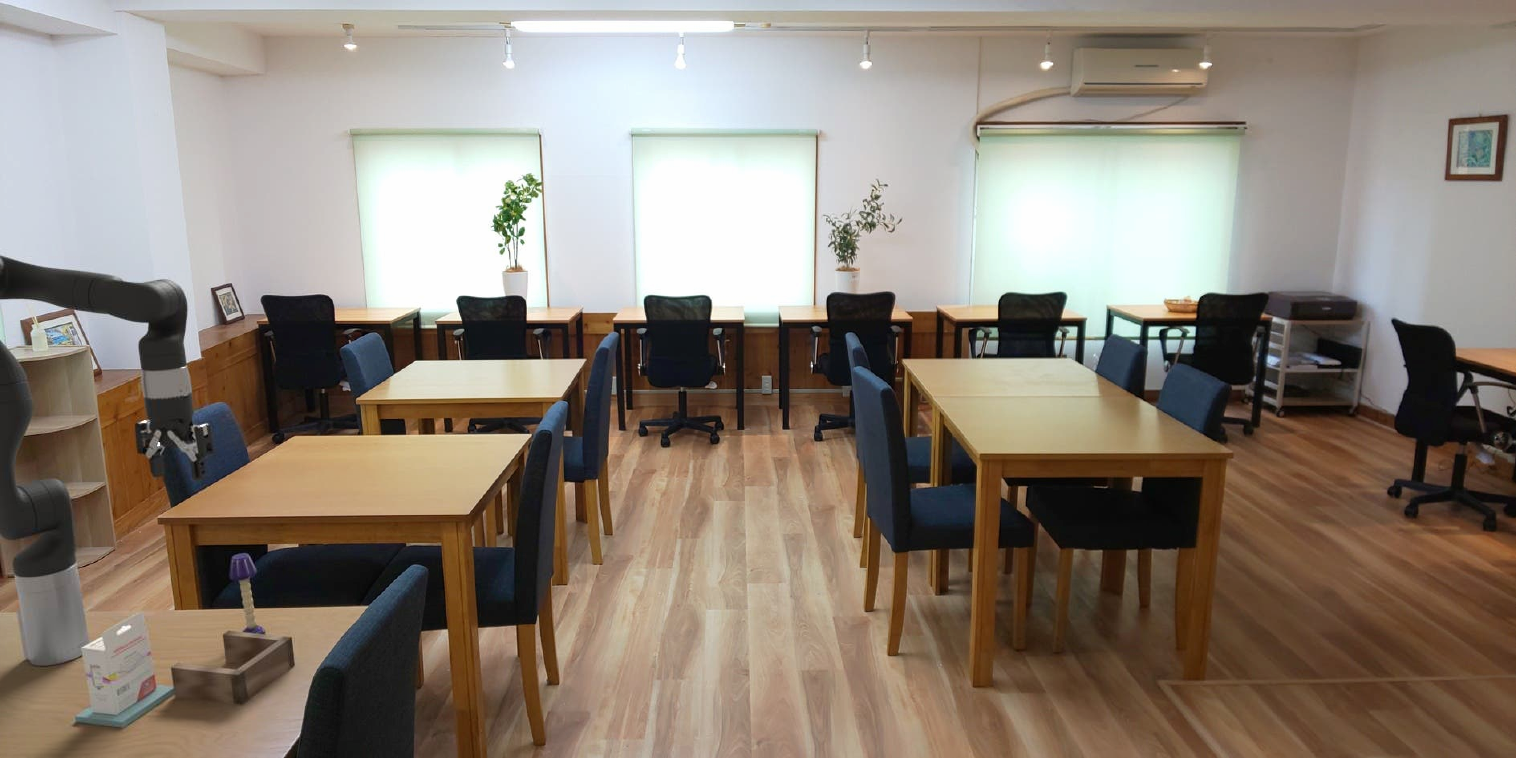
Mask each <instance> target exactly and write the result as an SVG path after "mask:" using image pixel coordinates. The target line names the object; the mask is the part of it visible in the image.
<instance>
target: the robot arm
mask: <svg viewBox="0 0 1516 758" xmlns="http://www.w3.org/2000/svg"><path fill="white" fill-rule="evenodd" d="M0 300H27V301H29V300H32V301H38V302H43V303H47V304H50V305H54V306H55V307H60V308H64V309H68V310H73V311H78V312H79V311H80V312H86V313H94V314H102V315H109V316H112V317H115V318H118V319H121V320H124V321H128V322H133V323H139V324H140V323H143V324H147V325H148V327H147V332H146V333H145V335H143V336H142V337H141V338H140V339H139V340H138V345H137V346H138V355H139V361H140V362H139V363H140V368H141V369H140V370H141V376H140V377H141V380H140V381H141V388H142V395H143V403H144V411H145V416H146V419H145V420H141V421H138V422H136V423H134V432H135V442H136V453H137V454H138V455H144V456H146V458H147V459H148V462H149V463H148V464H149V468H150V469H149V471H150V473H151V476H152V478H157V479H159V478H160V477H162V476H165V475H166V469H165V468H166V467H165V462H164V455H162V453H163V452H164V450H165V448H168V447H172V448H175V449H178V448H179V450H180V451H181V452H182V453H186V455H187V457H188V458H189V459H190V460H191V461H190V470H191V477H192V480H193V481H201V480H203V479H205V477H206V476H207V469H206V461H205V460H206V458H208V457H210V456H213V455H214V454H215V447H214V442H213V436H212V431H211V425H210V424H209V423H207V422H206V423H202V424H195V423H194V421H193V416H194V414H195V405H194V399H193V398H194V397H193V391H192V390H193V389H192V381H191V375H190V371H189V369H188V365H187V364H188V363H187V356H186V349H185V336H186V335H185V334H186V330H187V320H188V311H189V310H188V309H189V308H188V306H189V305H188V299H187V297H186V294H185V291H184V289H183V288H182V287H181V286H180V285H179V284H178V283H176V282H175V281H174V280H170V279H166V278H165V279H164V278H161V279H156V280H155V279H154V280H151V281H145V282H136V281H135V282H133V281H126V280H124V279H122V278H120V277H118V276H117V275H116V276H115V275H112V274H108V273H107V274H106V273H100V272H91V271H86V270H85V271H84V270H75V269H66V268H65V269H63V268H57V267H46V266H42V265H36V264H32V263H27V262H24V261H20V260H18V259H14V258H10V257H8V256H7V257H6V256H4V255H1V254H0ZM34 408H35V405H34V399H33V395H32V392H31V388H30V384H29V381H28V377H27V374H26V372H25V369H24V368H23V366H22V365H21V363H20V362H19V360H18V359H17V358H16V357H15V355H14V353H13V352H11V351H10V349H9V348H8V347H7V346H6V345H5V343H4V342H3V341H2V340H1V339H0V536H1V537H2V538H3V539H4V540H7V541H17V540H21V539H24V538H28V537H31V536H35V535H39V536H38V537H37V539H35V540H34V541H33V542H32V544H30V545H29V546H28V547H26V548H25V549H23V550H21V551H20V552H18V553H17V554H16V555H15V556H14V557H13V559H12V562H11V563H12V570H13V575H14V581H15V585H16V586H15V587H16V592H17V597H18V603H19V608H20V609H18V610H17V611H16V616H17V620H18V621H17V623H18V628H19V632H20V633H19V634H20V639H21V644H22V651H23V656H24V660H27V661H29V663H30V664H32V665H35V666H42V667H43V666H51V665H59V664H63V663H66V662H70V661H71V660H74V659H77V658H79V657H81V656H82V650H81V648H82V647H84V646H86V645H87V644H89V643H90V638H89V631H88V625H87V619H86V613H85V612H86V611H85V607H84V601H83V595H82V588H81V582H80V576H79V570H78V564H77V557H76V551H77V542H76V534H75V525H74V511H73V504H72V499H71V495H70V493H69V491H68V488H67V486H65V484H64V482H63V481H61V480H59V479H57V478H54V477H53V478H50V477H49V478H45V479H40V480H36V481H32V482H28V483H23V484H21V485H17V482H16V471H15V468H16V467H15V466H16V458H17V455H18V451H19V448H20V446H21V444H22V441H23V439H24V436H25V434H26V433H27V431H28V428H29V426H30V423H31V421H32V419H33V415H34V410H35V409H34Z"/></svg>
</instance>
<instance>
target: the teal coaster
mask: <svg viewBox="0 0 1516 758" xmlns="http://www.w3.org/2000/svg"><path fill="white" fill-rule="evenodd" d="M173 695H175V693H174V686H170V685H169V686H168V685H160V684H156V689H155V690H154V691H153V692H151V693H150V694H148V695H147V696H145V697H143V698H142V699H140V700H139V701H137V702H136V703H134V704H133V705H131V706H130V707H128V708H127V709H125V710H124V711H122V712H121V713H119V714H117V715H112V714H103V713H94V712H93V711H92V705H91V706H90V707H88V708H86V709H84V710H82V711H81V712H79V713H78V714H76V715H75V716H74V717H75V722H76V723H84V724H92V725H98V726H106V727H107V726H108V727H113V728H122V729H123V728H125V727H127V726H128V725H129V724H131V723H133V722H134V721H135V720H137V719H138V718H140V717H141V716H143V715H144V714H146V713H148V712H149V711H151V710H152V709H153V708H155V707H157V706H158V705H159V704H161V703H163V702H164V701H165V700H167V699H168V698H170V697H171V696H173Z"/></svg>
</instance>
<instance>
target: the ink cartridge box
mask: <svg viewBox="0 0 1516 758" xmlns="http://www.w3.org/2000/svg"><path fill="white" fill-rule="evenodd" d="M149 637H150V636H149V631H148V627H147V626H146V621H145V616H144V613H143V612H142V611H138V612H137V613H135V614H134V615H131V616H129V617H128V618H127V617H126V619H123V620H121V621H120V622H118V623H116V624H114V625H113V626H111V627H109V628H107V629H105V630H103V631H102V632H101V636H100V637H99V638H97V639H94V640H93V641H91V642H89V644H87V645H86V646H84V647H82V648H81V650H82V655H81V656H82V661H83V666H84V672H85V677H86V681H87V688H88V694H89V698H90V704H91V706H92V711H93V712H94V713H103V714H112V715H117V714H119V713H121V712H122V711H124V710H125V709H127V708H128V707H130V706H131V705H133V704H134V703H136V702H137V701H139V700H140V699H142V698H143V697H145V696H147V695H148V694H150V693H151V692H153V691H154V690H155V689H156V685H157V682H156V675H155V670H154V669H155V668H154V662H153V658H152V651H151V643H150V640H149V639H150V638H149Z"/></svg>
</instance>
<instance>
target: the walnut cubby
mask: <svg viewBox="0 0 1516 758" xmlns="http://www.w3.org/2000/svg"><path fill="white" fill-rule="evenodd" d="M222 639H223V646H224V648H223V649H224V655H225V657H224V658H225V663H230V664H231V663H232V664H239V665H241V666H239V667H238V668H237V669H234V668H224V667H215V666H206V665H199V664H198V665H197V664H187V663H179V662H177V663H175V664H174V665H172V666H171V667H170V670H171V677H172V678H171V679H172V684H173V686H172V687H174V697H175V698H181V699H189V700H198V701H206V702H213V703H223V704H233V705H238V706H239V705H240V706H242V705H244V704H245V703H246V702H248V701H249V700H250V699H251V698H253V697H254V696H257V694H258V693H260V692H261V691H263V689H265V688H267V687H268V686H269V685H271V684H272V682H274V681H276V680H277V679H279V677H282V675H283V674H285V673H286V672H288V671H289V670H290V669H292V668H293V667H294V666H295V664H296V663H295V662H296V661H295V654H294V645H293V637H292V636H285V635H284V636H282V635H272V634H266V633H265V634H256V633H246V632H242V631H234V630H227V631H226V632H224V633H223V634H222Z"/></svg>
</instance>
